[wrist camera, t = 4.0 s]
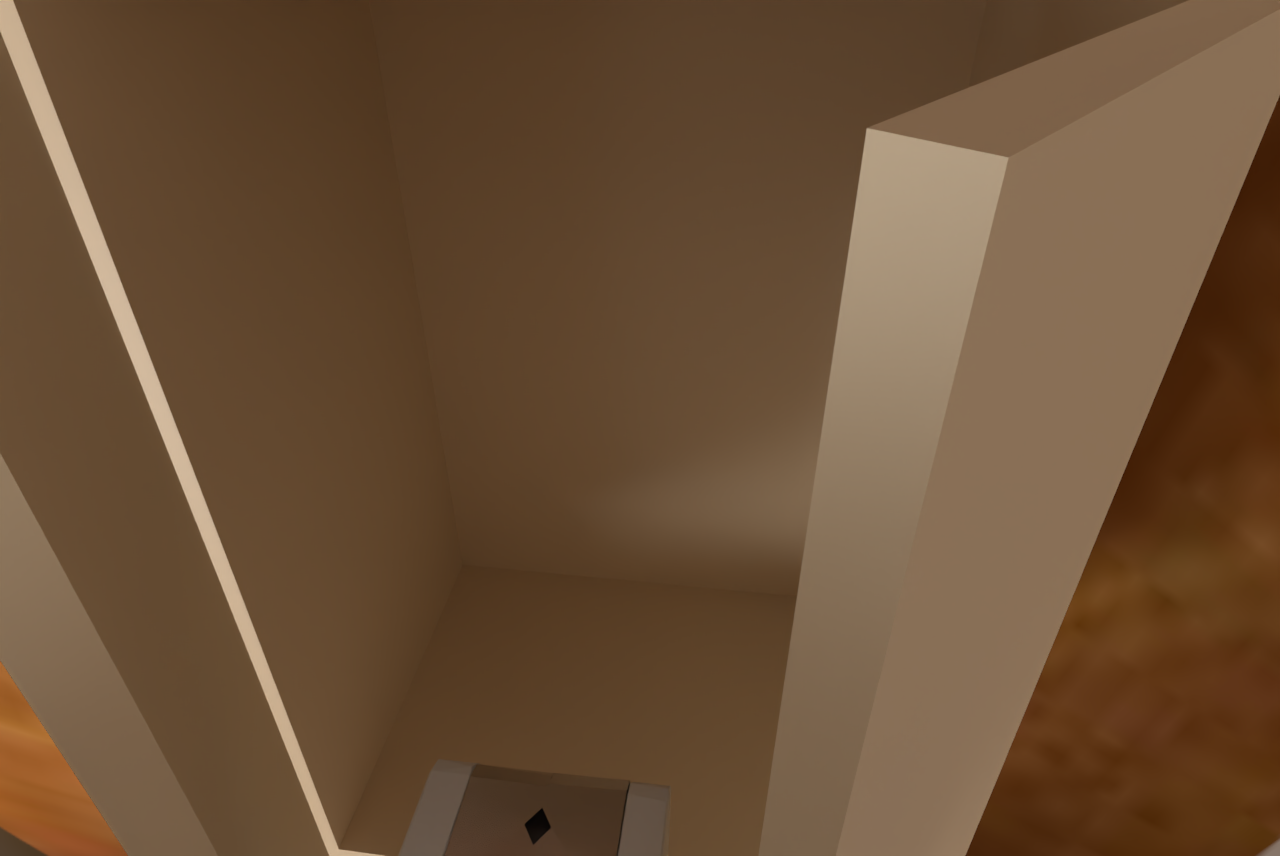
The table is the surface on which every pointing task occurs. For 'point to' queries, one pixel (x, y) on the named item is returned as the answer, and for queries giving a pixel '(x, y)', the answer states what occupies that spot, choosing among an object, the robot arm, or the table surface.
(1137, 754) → the table surface
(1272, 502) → the table surface
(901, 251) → the near flap
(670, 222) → the carton
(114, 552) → the far flap
